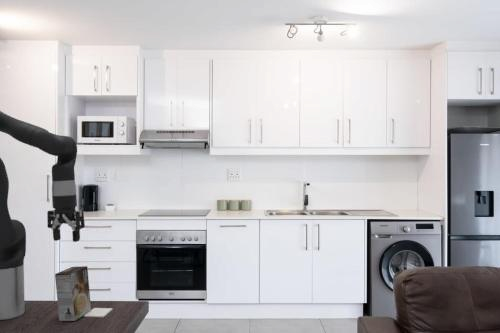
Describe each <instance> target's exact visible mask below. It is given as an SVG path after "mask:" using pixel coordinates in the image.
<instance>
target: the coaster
mask: <svg viewBox="0 0 500 333" xmlns="http://www.w3.org/2000/svg"><path fill="white" fill-rule="evenodd" d="M112 311H113V308H111V307H110V308H109V307H108V308H107V307H93V308H91V311H89V312H88V313H86V314H85V315H83V317H84V318H104V317H105V316H107V315H108V314H109V313H110V312H112Z"/></svg>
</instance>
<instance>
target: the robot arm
mask: <svg viewBox="0 0 500 333" xmlns="http://www.w3.org/2000/svg"><path fill="white" fill-rule="evenodd" d="M1 132H2V133H5V134H7V135H9V136H10V137H12V138H13V139H14V140H16V141H18V142H20V143H23V144H25V145H28V146H31V147H33V148H37V149H39V150H40V151H42V152H44V153H46V154H49V155H51V156H55V157H57V160H56V163H55V164H53V165H52V166H51V180H52V181H51V182H52V183H51V198H52V200H51V202H52V208H53V210H47V213H46V215H47V216H46V217H47V228H48V229H51V230H52V239H53V241H56V242H57V241H60V240H61V239H62V238H61V229H60V228H61V226H62V225H63V224H66V225H68V226H69V227H70V229H72V233H71V234H72V242H74V243H76V242H79V241H80V239H81V231H80V230H81V229H85V228H86V225H85V214H84V211H83V210H76V207H77V206H78V199H77V196H78V195H77V185H76V178H75V176H76V174H75V165H76V161H77V156H78V144H77V142H76V141H75V138H73V137H72V136H68V135H59V134H56V133H53V132H50V131H49V130H47V129H45V128H43V127H40V126H37V125H35V124H33V123H30V122H26V121H23V120H20V119H18V118H15V117H13V116H11V115H8V114H6V113H5V112H3V111H1V110H0V133H1ZM9 181H10V180H9V176H8V173H7V169H6V165H5V163H4V161H3V159H2V158H1V157H0V321H2V320H11V319H14V318H18V317H20V316H22V315H24V313H25V312H26V310H25V306H26V304H25V267H24V262H25V261H24V260H25V256H26V250H27V231H26V227H25V225H24V224H23V223H22V221H20V220H18V219H13V218H11V215H10V212H9V207H8V206H9V204H8V198H9V191H10V190H9V189H10V182H9Z"/></svg>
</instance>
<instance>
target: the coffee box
mask: <svg viewBox="0 0 500 333" xmlns="http://www.w3.org/2000/svg"><path fill="white" fill-rule="evenodd" d="M88 269H89V268H88V266H71V267H69V268H66V269H64V270H62V271H59V272H57V273H55V274H54V277H55V289H56V298H57V299H56V301H57V309H58V311H57V312H58V321H59V322H63V321H64V322H75V321H78V319H81V317H84V315H86V314H87V313H88V312H89V311H91V310H92V303H91V293H90V292H91V291H90V283H89V282H90V280H89V271H88Z"/></svg>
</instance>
